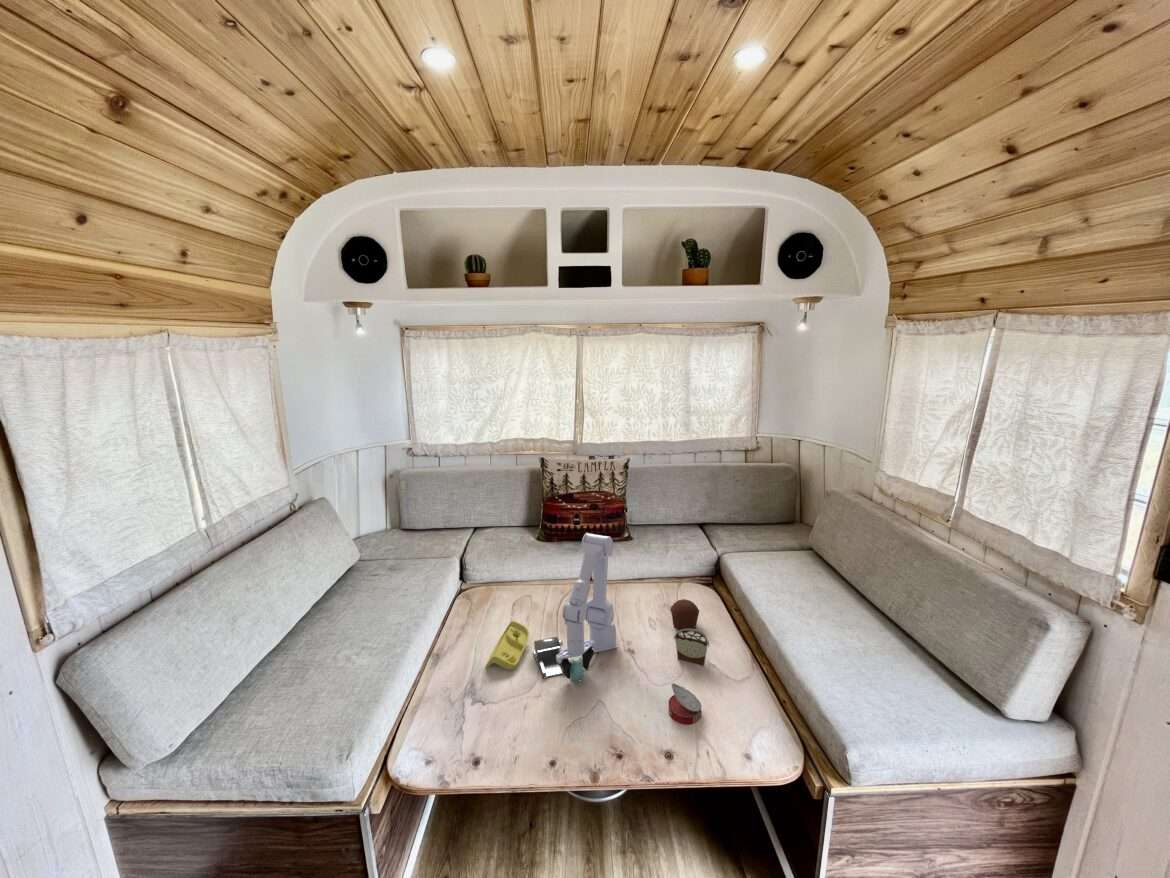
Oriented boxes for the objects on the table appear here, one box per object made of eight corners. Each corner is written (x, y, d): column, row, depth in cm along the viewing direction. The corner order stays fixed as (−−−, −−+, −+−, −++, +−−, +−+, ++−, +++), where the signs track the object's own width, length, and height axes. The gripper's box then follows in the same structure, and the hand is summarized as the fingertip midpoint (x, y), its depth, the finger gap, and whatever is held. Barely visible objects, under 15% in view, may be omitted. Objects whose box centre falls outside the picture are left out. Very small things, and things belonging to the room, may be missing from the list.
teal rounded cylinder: (581, 671, 168) (580, 654, 167) (584, 679, 164) (584, 662, 163) (568, 674, 167) (568, 657, 166) (572, 682, 163) (571, 665, 161)
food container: (711, 657, 174) (712, 632, 172) (708, 667, 168) (709, 642, 166) (677, 648, 179) (678, 624, 177) (673, 658, 173) (673, 633, 171)
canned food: (676, 713, 154) (680, 680, 157) (705, 725, 148) (709, 690, 150) (658, 717, 146) (663, 682, 149) (688, 730, 140) (693, 693, 142)
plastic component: (516, 667, 168) (490, 653, 169) (509, 681, 171) (483, 668, 171) (532, 629, 187) (509, 618, 187) (526, 643, 189) (503, 632, 190)
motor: (560, 646, 182) (559, 631, 181) (571, 672, 168) (570, 656, 167) (533, 651, 179) (532, 637, 178) (541, 678, 165) (541, 663, 164)
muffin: (697, 636, 186) (697, 612, 184) (668, 631, 190) (668, 608, 188) (700, 619, 197) (700, 596, 195) (672, 615, 201) (673, 593, 199)
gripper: (586, 624, 170) (587, 658, 172) (550, 638, 162) (552, 674, 164) (598, 633, 164) (599, 669, 167) (561, 649, 156) (563, 686, 159)
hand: (576, 672), depth 165 cm, fingers open, 7 cm apart
